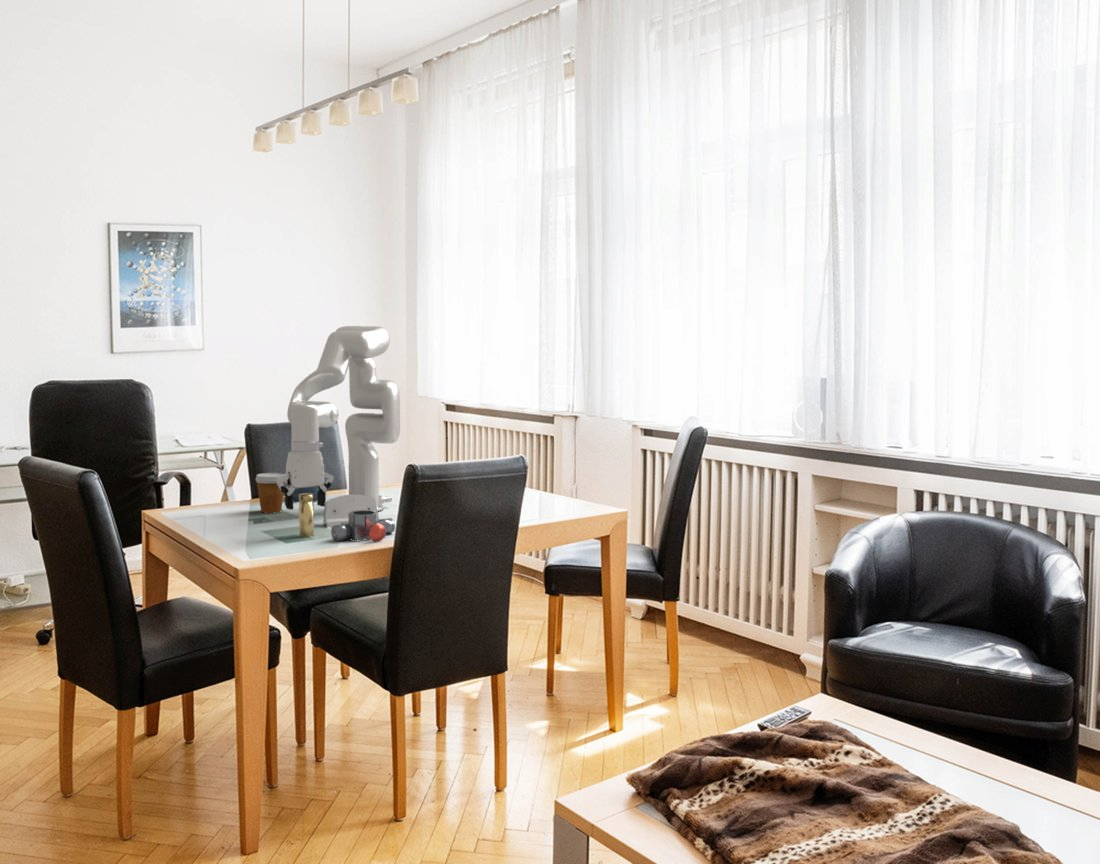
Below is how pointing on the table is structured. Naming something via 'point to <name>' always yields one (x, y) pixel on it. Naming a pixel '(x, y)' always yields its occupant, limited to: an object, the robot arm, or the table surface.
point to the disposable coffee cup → (269, 492)
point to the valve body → (363, 527)
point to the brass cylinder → (306, 515)
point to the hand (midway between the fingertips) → (305, 507)
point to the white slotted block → (346, 508)
